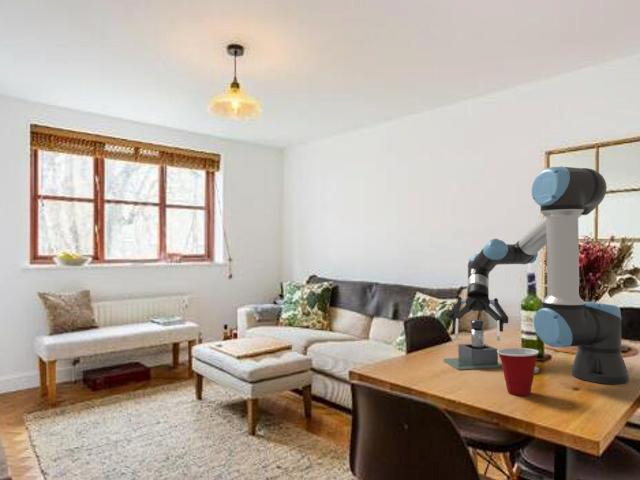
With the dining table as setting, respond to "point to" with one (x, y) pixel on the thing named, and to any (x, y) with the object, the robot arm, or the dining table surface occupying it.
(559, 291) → the robot arm
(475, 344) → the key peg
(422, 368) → the dining table surface
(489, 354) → the block
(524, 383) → the plastic cup
